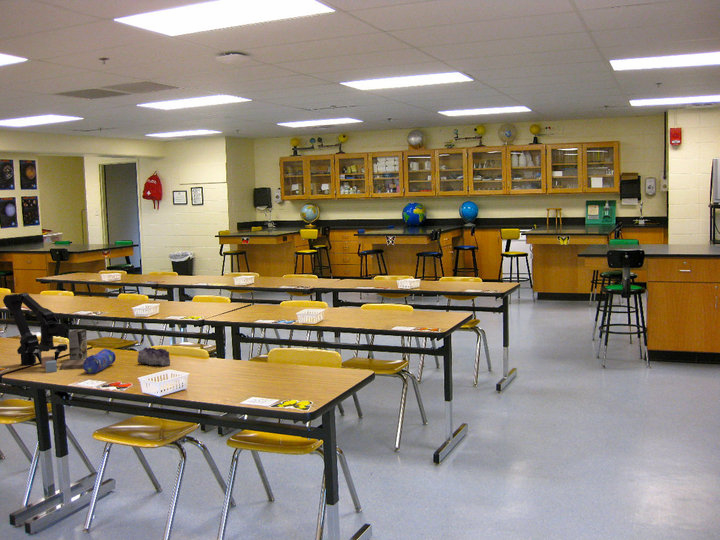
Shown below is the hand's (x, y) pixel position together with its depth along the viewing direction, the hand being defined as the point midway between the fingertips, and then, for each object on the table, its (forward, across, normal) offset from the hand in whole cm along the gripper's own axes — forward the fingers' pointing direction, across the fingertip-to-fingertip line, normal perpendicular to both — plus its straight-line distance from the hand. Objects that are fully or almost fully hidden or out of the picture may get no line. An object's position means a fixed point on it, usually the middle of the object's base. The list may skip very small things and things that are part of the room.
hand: (48, 364), depth 359 cm
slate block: (+1, +4, -12) cm, 13 cm away
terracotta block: (+1, 0, 0) cm, 1 cm away
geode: (+1, +55, -6) cm, 55 cm away
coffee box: (+1, +12, +15) cm, 19 cm away
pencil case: (+1, +28, -13) cm, 31 cm away
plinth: (+1, +14, -3) cm, 14 cm away
